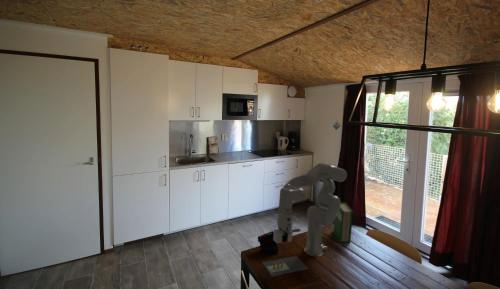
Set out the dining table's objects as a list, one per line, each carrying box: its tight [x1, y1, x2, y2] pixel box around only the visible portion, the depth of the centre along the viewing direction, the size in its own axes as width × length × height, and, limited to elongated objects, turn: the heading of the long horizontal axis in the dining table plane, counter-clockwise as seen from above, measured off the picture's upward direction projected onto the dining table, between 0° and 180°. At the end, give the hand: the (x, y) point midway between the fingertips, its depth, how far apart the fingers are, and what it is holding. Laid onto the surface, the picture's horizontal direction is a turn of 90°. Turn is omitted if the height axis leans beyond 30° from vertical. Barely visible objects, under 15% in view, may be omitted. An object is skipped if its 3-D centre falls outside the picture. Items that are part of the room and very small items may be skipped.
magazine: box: [257, 230, 279, 254], centre depth 166 cm, size 4×13×15 cm, turn 87°
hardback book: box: [333, 201, 354, 244], centre depth 191 cm, size 18×7×24 cm, turn 176°
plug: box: [273, 228, 301, 244], centre depth 149 cm, size 16×4×6 cm, turn 110°
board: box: [261, 255, 309, 277], centre depth 152 cm, size 24×14×5 cm, turn 110°
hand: (282, 239), depth 148 cm, fingers closed on plug, 4 cm apart
